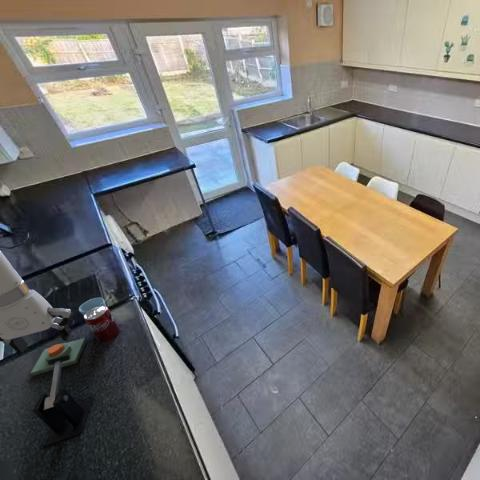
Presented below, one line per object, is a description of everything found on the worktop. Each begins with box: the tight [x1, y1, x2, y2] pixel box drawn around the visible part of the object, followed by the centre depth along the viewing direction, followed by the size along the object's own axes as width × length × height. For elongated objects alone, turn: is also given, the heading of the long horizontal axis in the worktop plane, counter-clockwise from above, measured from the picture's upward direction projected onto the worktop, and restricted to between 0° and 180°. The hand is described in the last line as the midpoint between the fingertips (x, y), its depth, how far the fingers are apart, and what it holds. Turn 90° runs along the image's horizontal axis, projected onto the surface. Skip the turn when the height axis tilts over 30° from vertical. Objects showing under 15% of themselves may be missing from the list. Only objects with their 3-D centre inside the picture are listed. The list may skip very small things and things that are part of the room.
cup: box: [78, 297, 107, 317], centre depth 104 cm, size 8×8×10 cm
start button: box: [48, 343, 64, 356], centre depth 91 cm, size 4×4×2 cm
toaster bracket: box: [32, 387, 94, 448], centre depth 72 cm, size 10×8×12 cm
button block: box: [30, 337, 89, 376], centre depth 92 cm, size 12×10×4 cm
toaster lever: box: [43, 355, 70, 411], centre depth 73 cm, size 13×4×2 cm, turn 21°
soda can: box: [83, 305, 122, 343], centre depth 98 cm, size 7×7×12 cm
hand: (46, 343), depth 72 cm, fingers open, 9 cm apart
